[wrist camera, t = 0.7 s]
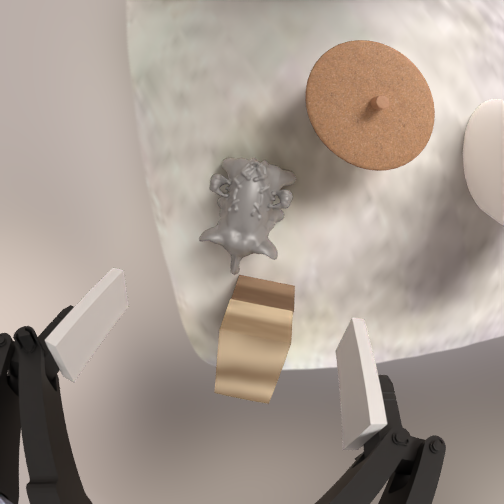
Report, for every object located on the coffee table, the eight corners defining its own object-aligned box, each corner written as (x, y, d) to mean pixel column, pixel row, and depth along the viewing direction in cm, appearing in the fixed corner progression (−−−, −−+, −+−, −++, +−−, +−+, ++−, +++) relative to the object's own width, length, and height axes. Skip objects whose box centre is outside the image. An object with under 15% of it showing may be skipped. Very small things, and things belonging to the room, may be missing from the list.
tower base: (239, 273, 34) (231, 297, 30) (294, 285, 34) (293, 310, 29) (230, 339, 40) (222, 363, 36) (275, 348, 40) (272, 373, 35)
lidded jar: (356, 178, 27) (382, 204, 18) (280, 107, 24) (274, 100, 16) (419, 114, 22) (466, 116, 14) (347, 41, 20) (370, 9, 12)
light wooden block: (230, 298, 30) (219, 329, 26) (292, 310, 30) (291, 343, 25) (222, 364, 36) (214, 392, 31) (272, 374, 35) (268, 403, 31)
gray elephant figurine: (293, 150, 27) (292, 154, 20) (302, 256, 31) (301, 291, 24) (208, 160, 29) (180, 168, 22) (224, 259, 33) (205, 293, 26)
